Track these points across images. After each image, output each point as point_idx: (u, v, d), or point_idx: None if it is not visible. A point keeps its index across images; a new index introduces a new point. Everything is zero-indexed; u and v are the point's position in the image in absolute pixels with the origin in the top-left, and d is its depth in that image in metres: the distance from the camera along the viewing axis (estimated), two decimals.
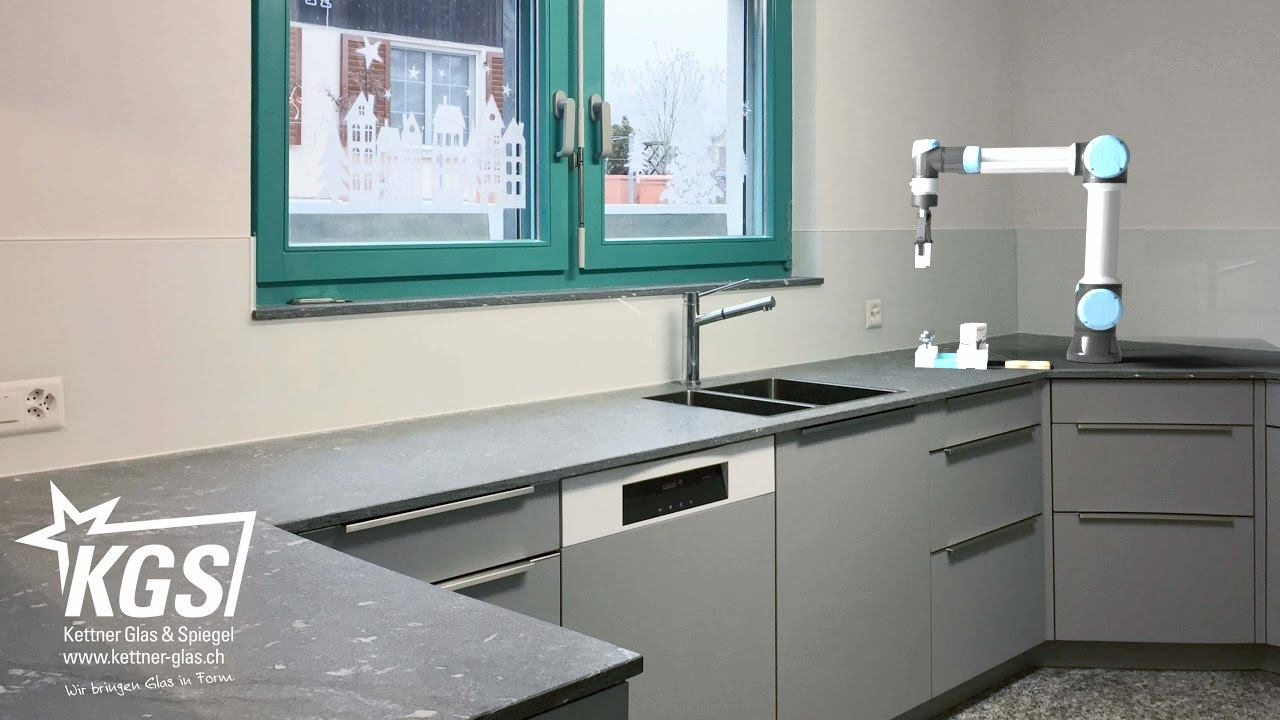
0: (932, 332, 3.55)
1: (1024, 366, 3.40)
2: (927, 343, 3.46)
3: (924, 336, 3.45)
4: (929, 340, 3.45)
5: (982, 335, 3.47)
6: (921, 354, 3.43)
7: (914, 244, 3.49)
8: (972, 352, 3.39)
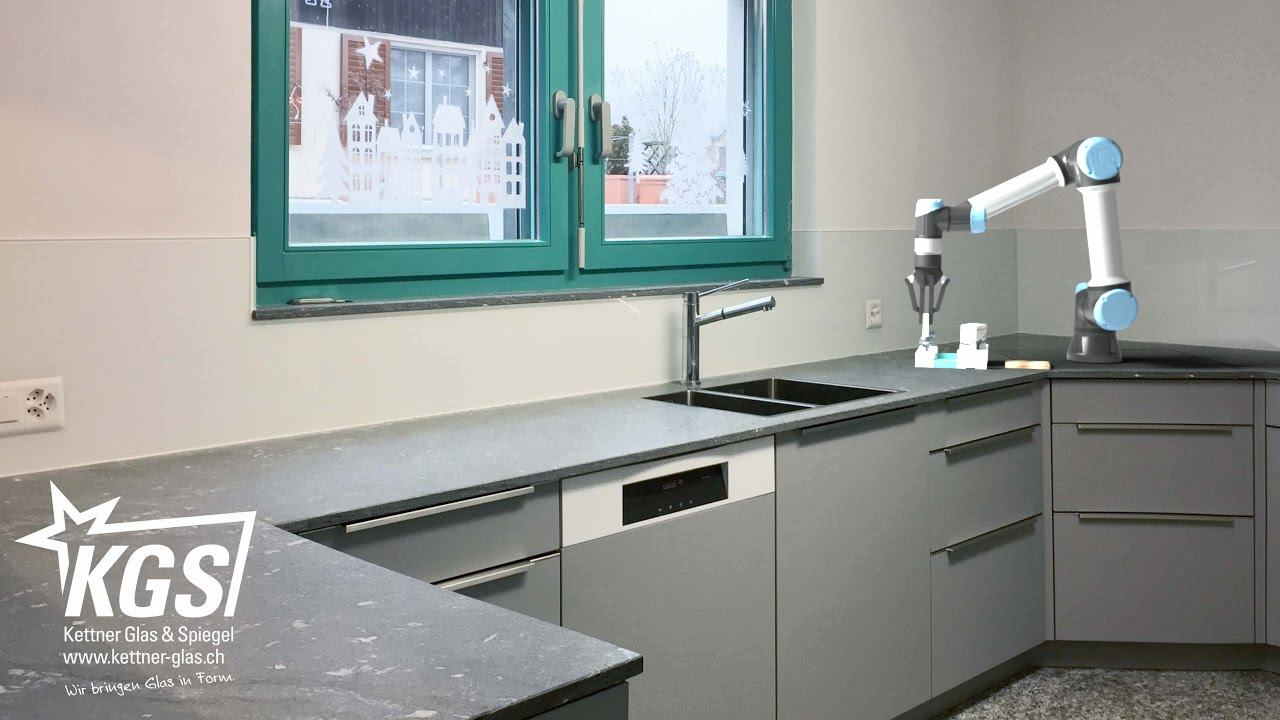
0: (932, 332, 3.55)
1: (1024, 366, 3.40)
2: (927, 346, 3.46)
3: (924, 339, 3.45)
4: (929, 343, 3.45)
5: (982, 335, 3.47)
6: (921, 354, 3.43)
7: None
8: (972, 352, 3.39)
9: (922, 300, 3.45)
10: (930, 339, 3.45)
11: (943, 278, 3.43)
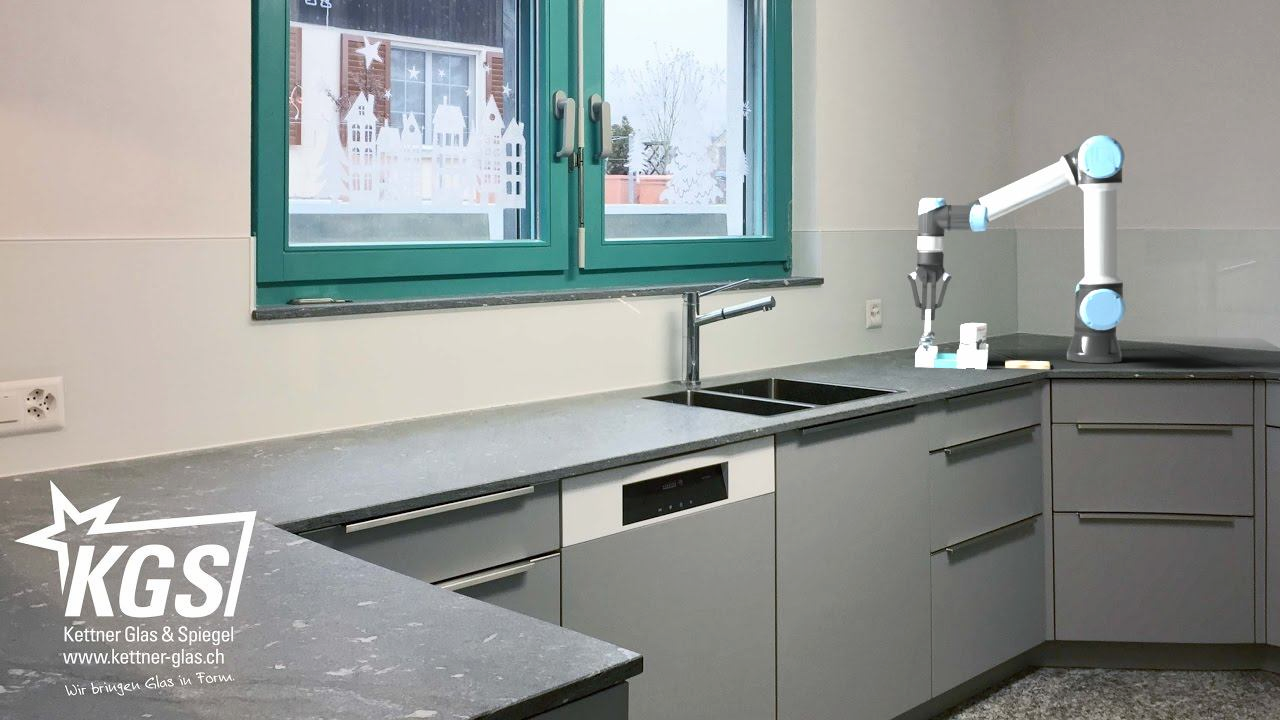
0: (932, 333, 3.55)
1: (1024, 366, 3.40)
2: (927, 347, 3.46)
3: (924, 340, 3.45)
4: (929, 344, 3.45)
5: (982, 335, 3.47)
6: (921, 354, 3.43)
7: None
8: (972, 352, 3.39)
9: (924, 296, 3.54)
10: (930, 340, 3.45)
11: (945, 275, 3.53)
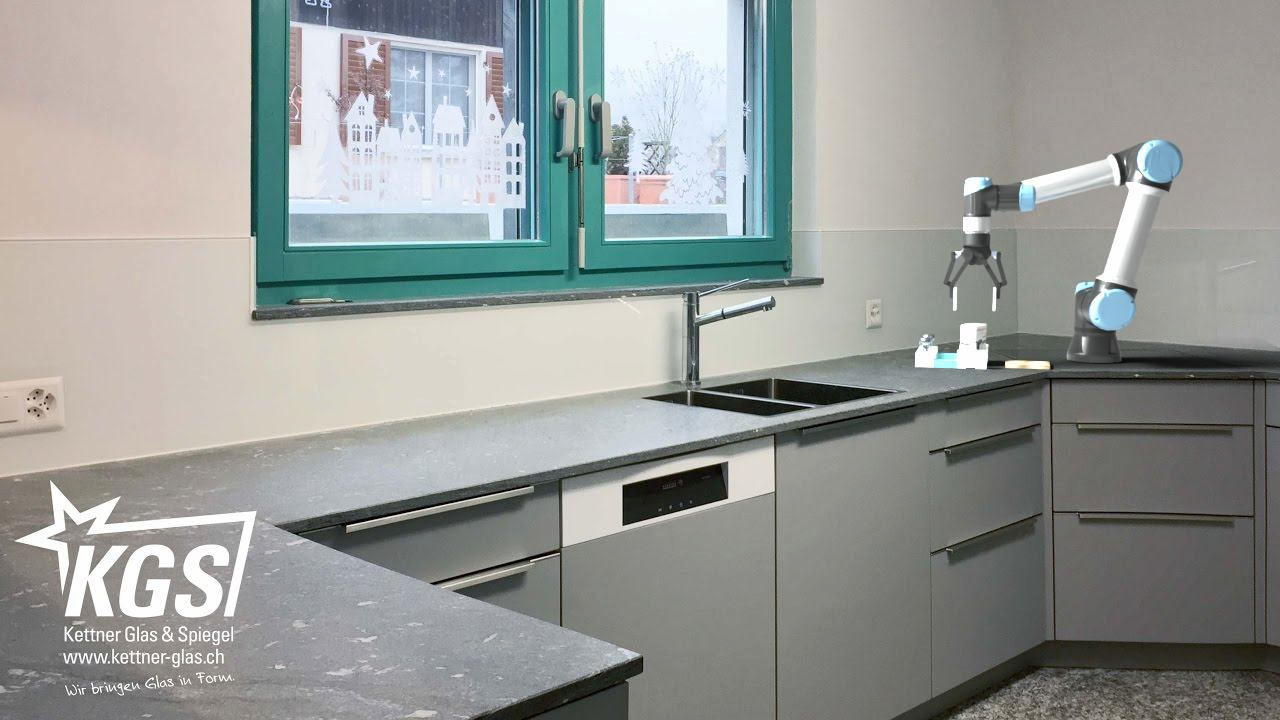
0: (932, 336, 3.55)
1: (1024, 366, 3.40)
2: (927, 347, 3.46)
3: (924, 340, 3.45)
4: (929, 344, 3.45)
5: (982, 335, 3.47)
6: (921, 354, 3.43)
7: None
8: (972, 352, 3.39)
9: (958, 276, 3.46)
10: (930, 340, 3.45)
11: (993, 253, 3.43)
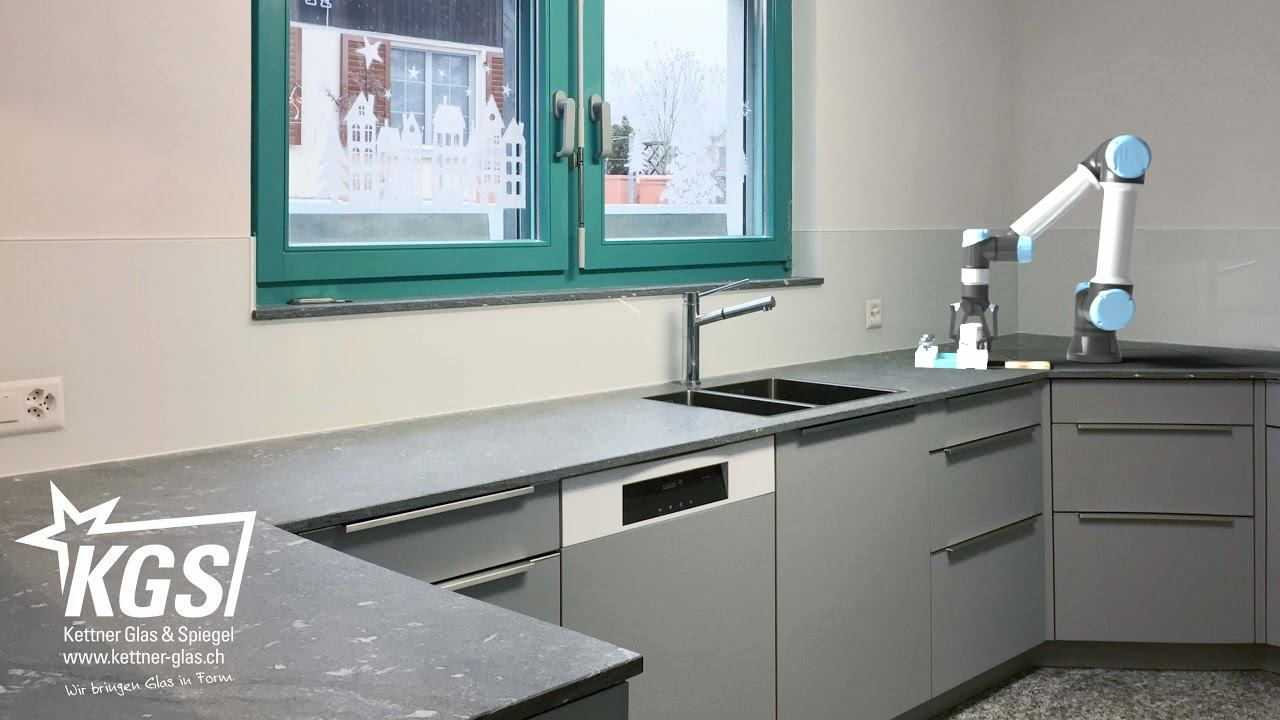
0: (932, 336, 3.55)
1: (1024, 366, 3.40)
2: (927, 347, 3.46)
3: (924, 340, 3.45)
4: (929, 344, 3.45)
5: (982, 335, 3.47)
6: (921, 354, 3.43)
7: None
8: (972, 352, 3.39)
9: None
10: (930, 340, 3.45)
11: (991, 306, 3.45)
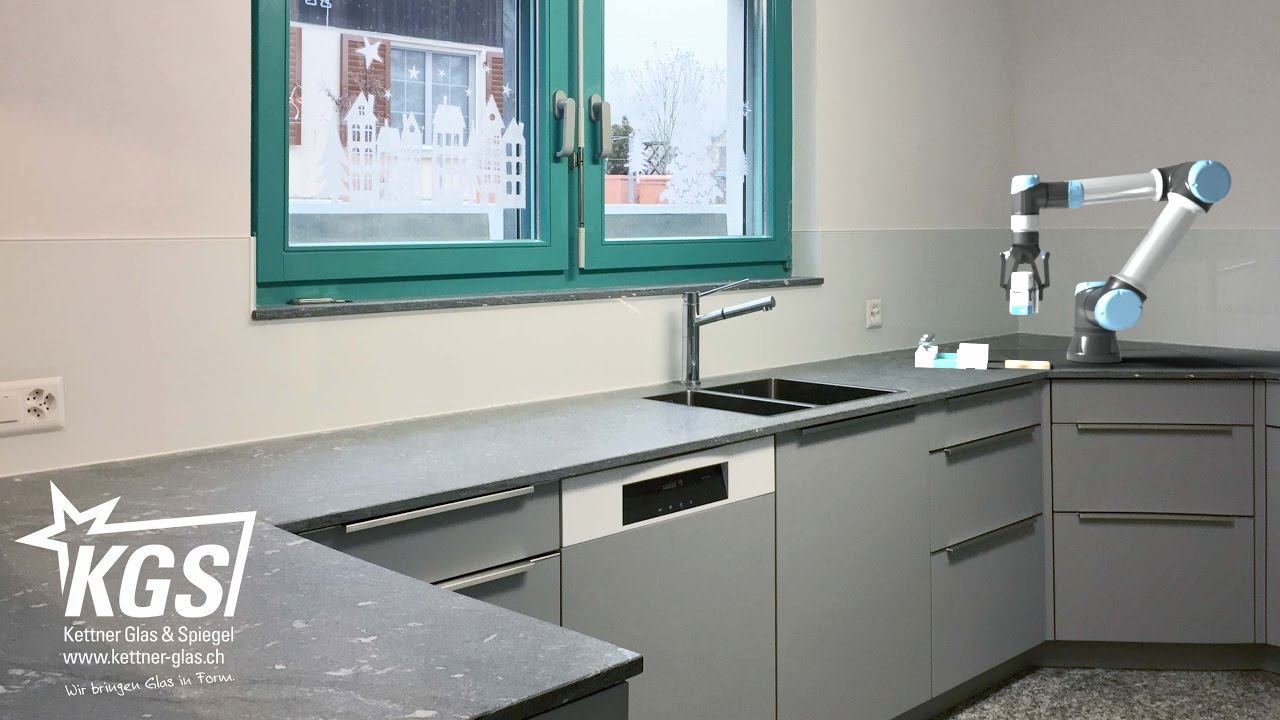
0: (932, 336, 3.55)
1: (1024, 366, 3.40)
2: (927, 347, 3.46)
3: (924, 340, 3.45)
4: (929, 344, 3.45)
5: (1033, 283, 3.41)
6: (921, 354, 3.43)
7: None
8: (972, 352, 3.39)
9: None
10: (930, 340, 3.45)
11: (1042, 253, 3.39)
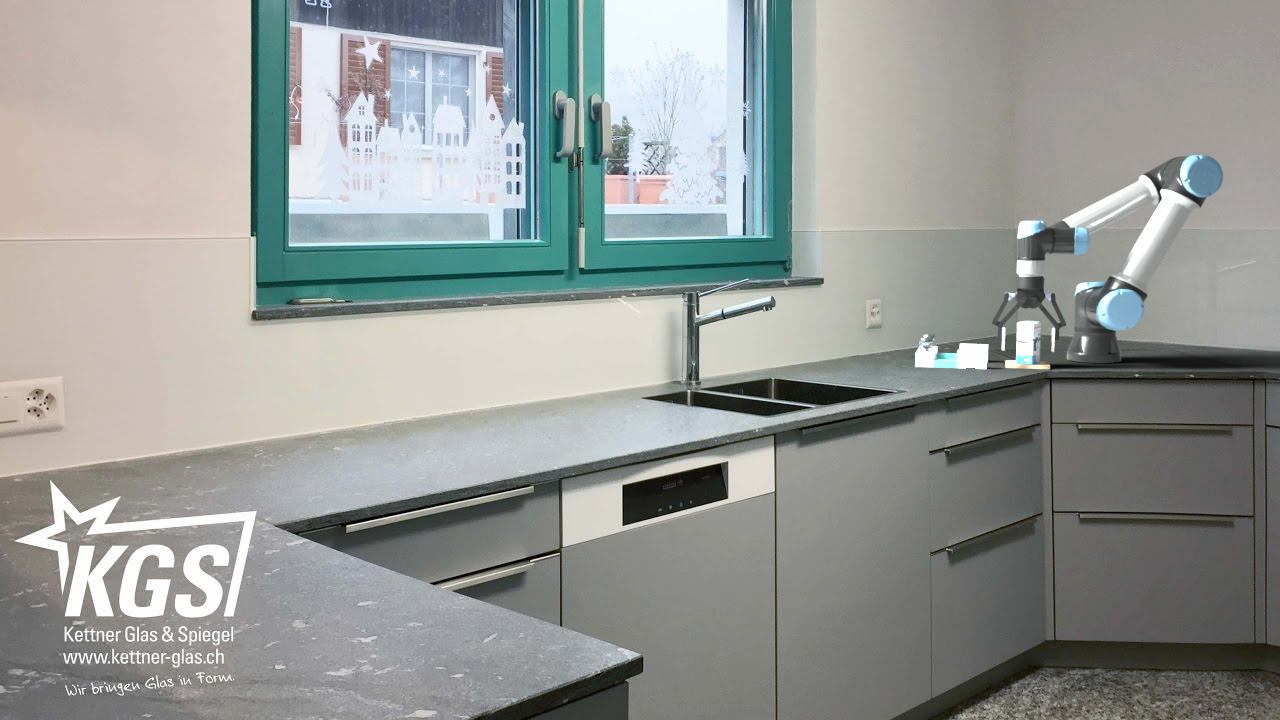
0: (932, 336, 3.55)
1: (1024, 366, 3.40)
2: (927, 347, 3.46)
3: (924, 340, 3.45)
4: (929, 344, 3.45)
5: (1038, 333, 3.42)
6: (921, 354, 3.43)
7: None
8: (972, 352, 3.39)
9: (1008, 317, 3.43)
10: (930, 340, 3.45)
11: (1048, 296, 3.40)
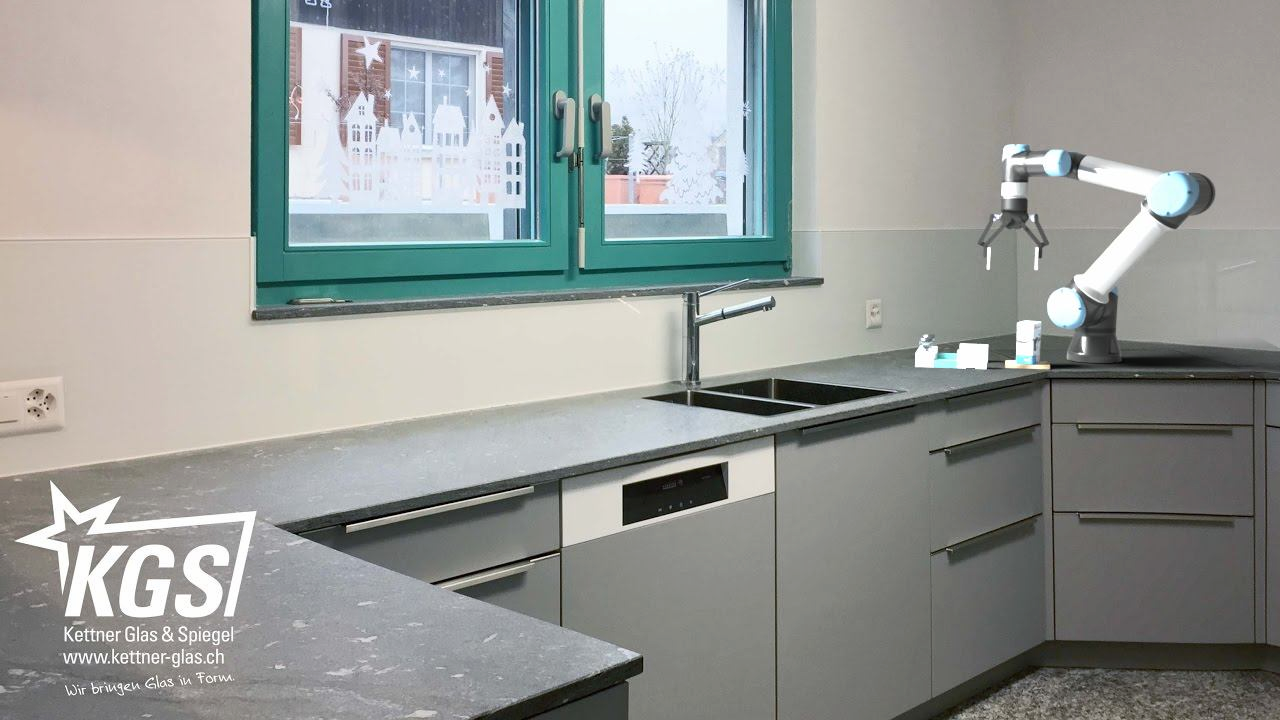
0: (932, 336, 3.55)
1: (1024, 366, 3.40)
2: (927, 347, 3.46)
3: (924, 340, 3.45)
4: (929, 344, 3.45)
5: (1038, 333, 3.42)
6: (921, 354, 3.43)
7: None
8: (972, 352, 3.39)
9: (993, 237, 3.59)
10: (930, 340, 3.45)
11: (1031, 217, 3.56)
